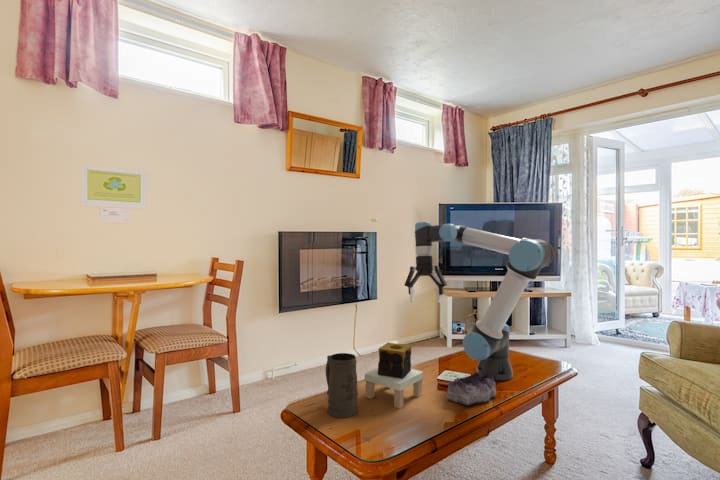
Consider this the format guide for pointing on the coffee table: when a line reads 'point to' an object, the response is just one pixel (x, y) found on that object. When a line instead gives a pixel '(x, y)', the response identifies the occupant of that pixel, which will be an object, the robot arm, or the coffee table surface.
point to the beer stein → (341, 385)
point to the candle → (394, 360)
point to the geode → (472, 389)
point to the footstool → (394, 384)
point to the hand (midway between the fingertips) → (425, 302)
